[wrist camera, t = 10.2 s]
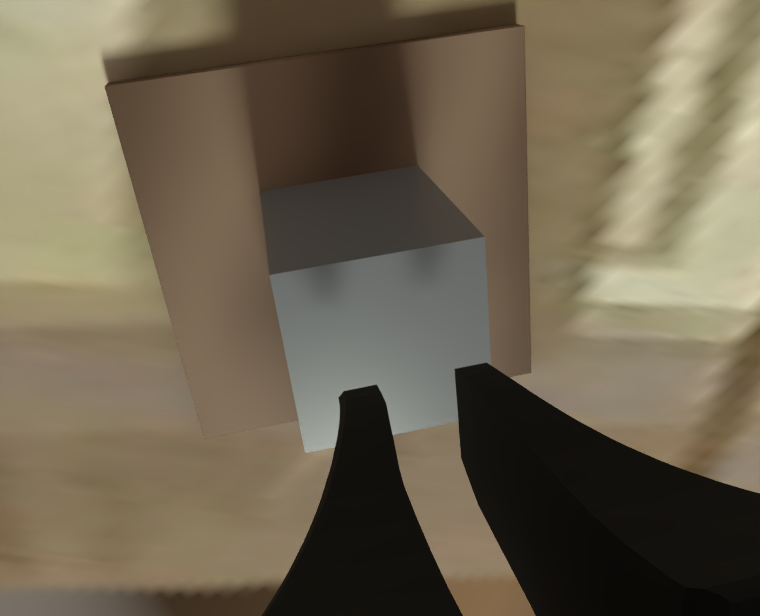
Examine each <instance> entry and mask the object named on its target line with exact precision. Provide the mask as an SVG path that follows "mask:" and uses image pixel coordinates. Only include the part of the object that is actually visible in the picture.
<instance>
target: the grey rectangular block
mask: <svg viewBox="0 0 760 616" xmlns="http://www.w3.org/2000/svg"><path fill="white" fill-rule="evenodd" d="M260 198H261V207H262V216H263V224H264V233H265V242H266V250H267V259H268V268H269V276H270V281H271V286H272V291H273V296H274V301H275V306H276V311H277V315H278V320H279V325H280V330H281V335H282V340H283V345H284V350H285V355H286V360H287V365H288V370H289V375H290V380H291V385H292V390H293V395H294V399H295V404H296V409H297V414H298V419H299V424H300V429H301V434H302V439H303V444H304V449H305V453H308V452H313V451H318V450H323V449H328V448H332V447H335V446H336V441H337V436H338V429H339V420H340V404H339V396H340V395H341V394H342V393H343V391H347V390H352V389H357V388H362V387H367V386H372V385H377V386H378V388H379V389H380V391H381V393H382V395H383V397H384V400H385V402H386V405H387V410H388V415H389V420H390V425H391V430H392V435H395V434H399V433H404V432H409V431H414V430H419V429H423V428H428V427H433V426H438V425H443V424H447V423H452V422H457V421H458V409H457V396H456V383H455V370H454V369H456V368H461V367H466V366H471V365H476V364H481V363H486V362H487V363H488V364H490V365H491V354H490V333H489V312H488V291H487V271H486V250H485V236H484V235H483V234H482V233H481V232H480V231H479V230H478V229H477V228H476V227H475V226H474V225H473V224H472V223H471V221H470V220H469V219H468V218H467V217H466V216H465V215H464V214H463V213H462V212H461V211H460V210H459V209H458V208H457V207H456V205H455V204H454V203H453V202H452V201H451V200H450V199H449V198H448V197H447V196H446V195H445V194H444V193H443V192H442V191H441V190H440V188H439V187H438V186H437V185H436V184H435V183H434V182H433V181H432V180H431V179H430V178H429V177H428V176H427V175H426V174H425V172H424V171H423V170H422V169H421V168H420V167H419V166H418V165H417V166H411V167H405V168H399V169H393V170H387V171H381V172H374V173H368V174H362V175H356V176H350V177H344V178H338V179H332V180H326V181H320V182H313V183H307V184H301V185H295V186H289V187H283V188H277V189H271V190H265V191H260Z"/></svg>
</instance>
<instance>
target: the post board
mask: <svg viewBox="0 0 760 616" xmlns="http://www.w3.org/2000/svg"><path fill="white" fill-rule="evenodd" d="M105 89H106V93H107V96H108V100H109V104H110V107H111V111H112V114H113V118H114V121H115V125H116V128H117V132H118V135H119V139H120V142H121V146H122V150H123V153H124V157H125V160H126V164H127V167H128V171H129V174H130V178H131V181H132V185H133V188H134V192H135V196H136V199H137V203H138V206H139V210H140V213H141V217H142V220H143V224H144V227H145V231H146V234H147V238H148V242H149V245H150V249H151V252H152V256H153V259H154V263H155V266H156V270H157V273H158V277H159V280H160V284H161V288H162V291H163V295H164V298H165V302H166V305H167V309H168V312H169V316H170V319H171V323H172V326H173V330H174V334H175V337H176V341H177V344H178V348H179V351H180V355H181V358H182V362H183V365H184V369H185V372H186V376H187V380H188V383H189V387H190V390H191V394H192V397H193V401H194V404H195V408H196V411H197V415H198V418H199V422H200V426H201V429H202V433H203V436H204V439H208V438H213V437H218V436H223V435H228V434H233V433H238V432H243V431H248V430H253V429H257V428H262V427H267V426H272V425H277V424H282V423H287V422H292V421H297V420H299V419H298V414H297V409H296V404H295V399H294V395H293V390H292V385H291V380H290V375H289V370H288V365H287V360H286V355H285V350H284V345H283V340H282V335H281V330H280V325H279V320H278V315H277V311H276V306H275V301H274V296H273V291H272V286H271V281H270V276H269V268H268V259H267V250H266V242H265V233H264V224H263V216H262V207H261V198H260V191H265V190H271V189H277V188H283V187H289V186H295V185H301V184H307V183H313V182H320V181H326V180H332V179H338V178H344V177H350V176H356V175H362V174H368V173H374V172H381V171H387V170H393V169H399V168H405V167H411V166H417V165H418V166H419V167H420V168H421V169H422V170H423V171H424V172H425V174H426V175H427V176H428V177H429V178H430V179H431V180H432V181H433V182H434V183H435V184H436V185H437V186H438V187H439V188H440V190H441V191H442V192H443V193H444V194H445V195H446V196H447V197H448V198H449V199H450V200H451V201H452V202H453V203H454V204H455V205H456V207H457V208H458V209H459V210H460V211H461V212H462V213H463V214H464V215H465V216H466V217H467V218H468V219H469V220H470V221H471V223H472V224H473V225H474V226H475V227H476V228H477V229H478V230H479V231H480V232H481V233H482V234H483V235H484V236H485V250H486V271H487V291H488V312H489V333H490V354H491V366H493V367H494V368H496V369H497V370H499V371H500V372H502V373H503V374H505V375H506V376H508V377H513V376H517V375H522V374H527V373H531V337H530V285H529V233H528V181H527V129H526V77H525V26H523V25H518V24H515V25H508V26H501V27H494V28H487V29H480V30H473V31H466V32H459V33H452V34H445V35H438V36H431V37H425V38H418V39H411V40H404V41H397V42H390V43H383V44H376V45H369V46H362V47H355V48H348V49H341V50H334V51H327V52H320V53H313V54H306V55H299V56H292V57H285V58H278V59H271V60H264V61H257V62H250V63H244V64H237V65H230V66H223V67H216V68H209V69H202V70H195V71H188V72H181V73H174V74H167V75H160V76H153V77H146V78H139V79H132V80H125V81H118V82H111V83H108V84H107V85H106V86H105Z"/></svg>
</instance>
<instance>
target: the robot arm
mask: <svg viewBox="0 0 760 616" xmlns="http://www.w3.org/2000/svg"><path fill="white" fill-rule="evenodd" d="M454 370H455V383H456V396H457V409H458V421H459V434H460V447H461V458H462V461H463V464H464V467H465V470H466V472H467V475H468V478H469V481H470V484H471V486H472V489H473V492H474V494H475V497H476V500H477V502H478V505H479V507H480V509H481V511H482V513H483V515H484V517H485V519H486V520H487V522H488V524H489V526H490V528H491V530H492V532H493V534H494V536H495V538H496V540H497V542H498V544H499V546H500V548H501V549H502V551H503V553H504V555H505V557H506V559H507V561H508V563H509V565H510V567H511V569H512V570H513V572H514V574H515V576H516V578H517V580H518V582H519V584H520V586H521V588H522V590H523V591H524V593H525V595H526V597H527V599H528V601H529V603H530V605H531V607H532V609H533V611H534V613H535V615H536V616H760V494H759V493H756V492H752V491H748V490H744V489H741V488H738V487H734V486H731V485H728V484H724V483H721V482H718V481H715V480H712V479H709V478H706V477H703V476H700V475H698V474H695V473H692V472H689V471H686V470H683V469H680V468H678V467H675V466H672V465H670V464H667V463H665V462H662V461H660V460H657V459H655V458H653V457H650V456H648V455H646V454H644V453H641V452H639V451H637V450H634V449H632V448H630V447H628V446H625V445H623V444H621V443H619V442H617V441H615V440H613V439H611V438H609V437H607V436H605V435H603V434H601V433H599V432H598V431H596V430H594V429H592V428H590V427H588V426H586V425H584V424H583V423H581V422H579V421H577V420H576V419H574V418H572V417H570V416H569V415H567V414H565V413H564V412H562V411H560V410H559V409H557V408H555V407H554V406H552V405H550V404H549V403H547V402H546V401H544V400H543V399H541V398H539V397H538V396H536V395H535V394H533V393H532V392H530V391H529V390H527V389H526V388H524V387H523V386H521V385H520V384H518V383H517V382H515V381H514V380H512V379H511V378H509V377H508V376H506V375H505V374H503V373H502V372H500V371H499V370H497V369H496V368H494V367H493V366H491V365H490V364H488V363H487V362H486V363H481V364H476V365H471V366H466V367H461V368H456V369H454ZM339 404H340V420H339V429H338V436H337V441H336V446H335V451H334V455H333V460H332V464H331V468H330V472H329V475H328V478H327V482H326V485H325V488H324V491H323V495H322V498H321V501H320V503H319V506H318V509H317V512H316V514H315V517H314V519H313V522H312V524H311V526H310V529H309V531H308V533H307V536H306V538H305V540H304V542H303V544H302V546H301V548H300V550H299V552H298V554H297V556H296V558H295V560H294V562H293V564H292V566H291V568H290V570H289V572H288V574H287V576H286V577H285V579H284V581H283V583H282V584H281V586H280V588H279V589H278V591H277V592H276V594H275V595H274V597H273V599H272V600H271V602H270V603H269V605H268V607H267V608H266V610H265V611H264V613H263V614H262V616H463V615H462V613H461V612H460V610H459V608H458V606H457V604H456V602H455V600H454V598H453V596H452V594H451V593H450V590H449V589H448V587H447V584H446V582H445V580H444V578H443V576H442V574H441V572H440V570H439V567H438V565H437V563H436V561H435V559H434V557H433V555H432V552H431V550H430V548H429V546H428V543H427V541H426V539H425V536H424V534H423V532H422V529H421V527H420V525H419V522H418V520H417V517H416V515H415V512H414V510H413V507H412V505H411V502H410V500H409V497H408V495H407V492H406V490H405V487H404V484H403V480H402V477H401V473H400V470H399V465H398V460H397V455H396V450H395V445H394V440H393V435H392V430H391V425H390V420H389V415H388V410H387V405H386V402H385V400H384V397H383V395H382V393H381V391H380V389H379V388H378V386H377V385H372V386H367V387H362V388H357V389H352V390H347V391H343V393H342V394H341V395H340V396H339Z"/></svg>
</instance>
